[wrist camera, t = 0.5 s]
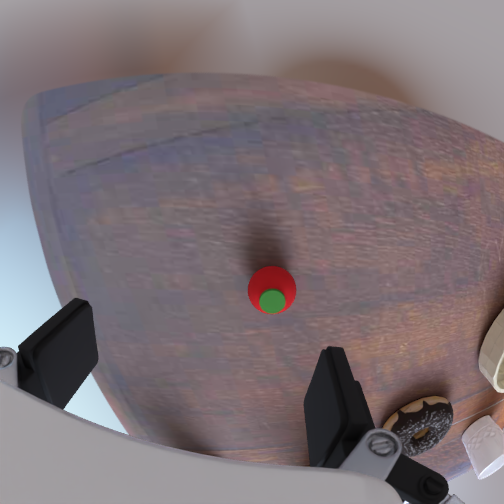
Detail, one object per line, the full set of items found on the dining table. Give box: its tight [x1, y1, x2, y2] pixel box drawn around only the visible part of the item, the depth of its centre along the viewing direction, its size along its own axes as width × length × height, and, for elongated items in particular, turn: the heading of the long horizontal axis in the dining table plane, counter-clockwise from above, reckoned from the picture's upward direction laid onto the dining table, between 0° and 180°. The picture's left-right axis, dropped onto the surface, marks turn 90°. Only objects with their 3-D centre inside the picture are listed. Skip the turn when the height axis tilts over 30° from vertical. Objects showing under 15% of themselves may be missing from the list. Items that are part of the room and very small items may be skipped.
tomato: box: [248, 266, 296, 314], centre depth 24 cm, size 4×4×4 cm
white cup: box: [462, 415, 504, 479], centre depth 28 cm, size 8×8×10 cm
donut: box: [382, 396, 453, 457], centre depth 30 cm, size 11×12×4 cm
